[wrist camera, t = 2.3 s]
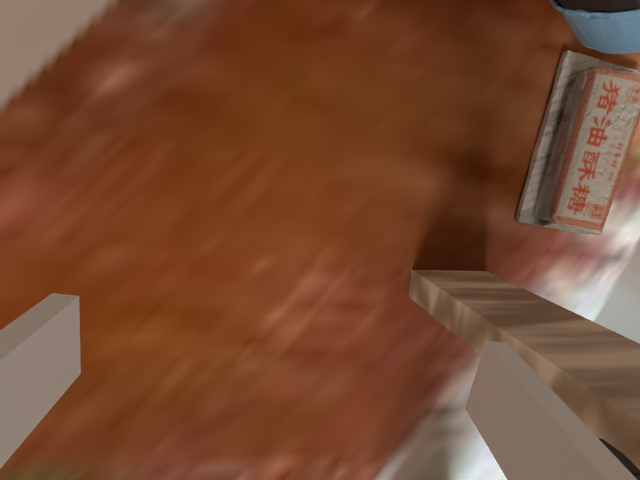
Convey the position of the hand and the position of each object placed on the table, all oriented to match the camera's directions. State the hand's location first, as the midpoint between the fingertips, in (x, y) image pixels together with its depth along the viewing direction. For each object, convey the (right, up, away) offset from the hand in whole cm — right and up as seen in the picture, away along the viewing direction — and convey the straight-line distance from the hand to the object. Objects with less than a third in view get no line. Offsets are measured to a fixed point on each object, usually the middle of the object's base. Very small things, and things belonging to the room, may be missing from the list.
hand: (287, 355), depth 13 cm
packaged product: (+29, +14, +31) cm, 45 cm away
